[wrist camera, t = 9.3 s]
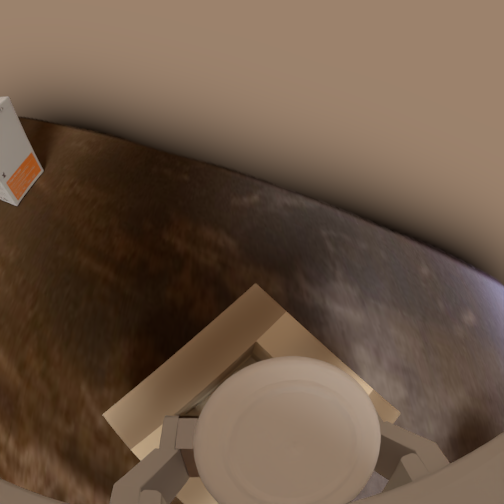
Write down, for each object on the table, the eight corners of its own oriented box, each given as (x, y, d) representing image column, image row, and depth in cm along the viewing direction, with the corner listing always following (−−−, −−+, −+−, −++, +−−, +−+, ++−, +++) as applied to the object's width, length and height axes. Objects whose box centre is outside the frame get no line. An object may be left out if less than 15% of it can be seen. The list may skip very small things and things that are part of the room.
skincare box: (18, 207, 27) (-30, 133, 17) (1, 201, 28) (-44, 133, 17) (46, 170, 30) (9, 94, 20) (27, 166, 31) (-8, 96, 20)
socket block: (134, 415, 19) (102, 414, 13) (250, 314, 23) (255, 282, 18) (250, 524, 15) (256, 557, 10) (361, 415, 20) (400, 413, 14)
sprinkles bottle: (210, 403, 18) (177, 366, 6) (279, 392, 18) (362, 333, 7) (222, 468, 15) (211, 546, 4) (292, 455, 16) (400, 496, 5)
